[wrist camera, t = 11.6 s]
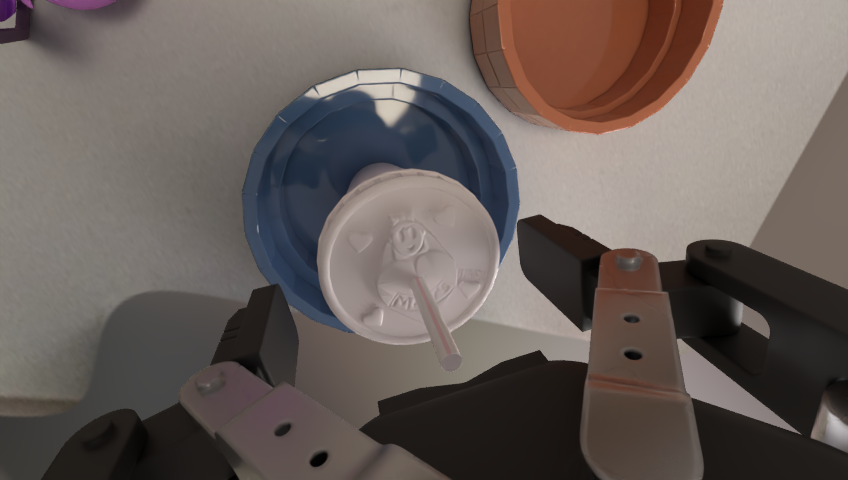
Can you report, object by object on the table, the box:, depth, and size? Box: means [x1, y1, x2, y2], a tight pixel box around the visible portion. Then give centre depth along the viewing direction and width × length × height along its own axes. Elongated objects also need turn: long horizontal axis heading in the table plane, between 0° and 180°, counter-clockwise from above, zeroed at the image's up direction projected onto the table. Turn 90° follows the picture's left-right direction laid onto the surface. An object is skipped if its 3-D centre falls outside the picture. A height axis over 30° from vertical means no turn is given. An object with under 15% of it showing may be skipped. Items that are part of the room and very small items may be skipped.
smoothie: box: [317, 163, 500, 372], centre depth 16 cm, size 6×6×14 cm
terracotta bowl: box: [470, 0, 723, 135], centre depth 20 cm, size 11×11×4 cm
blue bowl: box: [242, 68, 520, 333], centre depth 21 cm, size 13×13×4 cm
